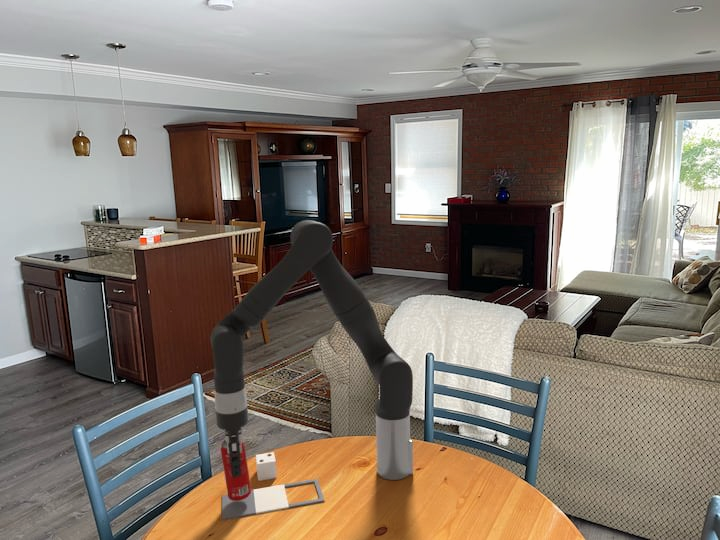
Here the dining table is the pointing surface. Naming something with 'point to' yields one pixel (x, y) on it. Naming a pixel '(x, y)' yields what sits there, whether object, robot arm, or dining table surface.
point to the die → (266, 466)
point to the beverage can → (236, 485)
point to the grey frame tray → (265, 501)
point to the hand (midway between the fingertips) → (236, 469)
